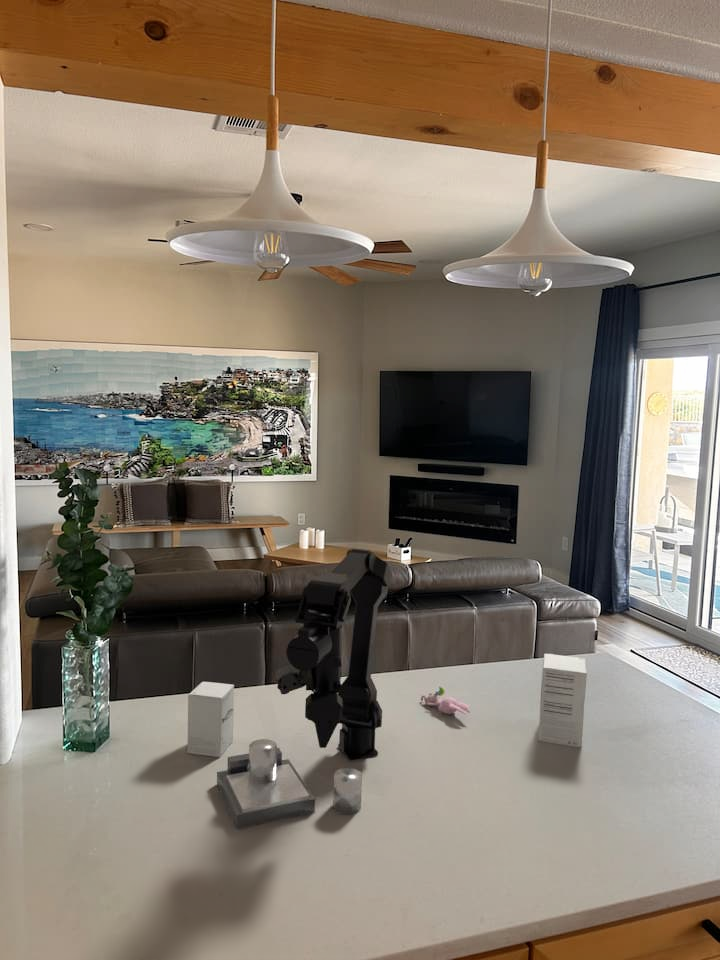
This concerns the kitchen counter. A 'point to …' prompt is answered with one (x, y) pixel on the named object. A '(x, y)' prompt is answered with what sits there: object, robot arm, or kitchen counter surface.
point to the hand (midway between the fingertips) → (322, 734)
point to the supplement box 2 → (562, 700)
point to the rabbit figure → (445, 703)
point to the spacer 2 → (347, 791)
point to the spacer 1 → (262, 761)
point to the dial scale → (263, 793)
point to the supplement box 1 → (210, 718)
